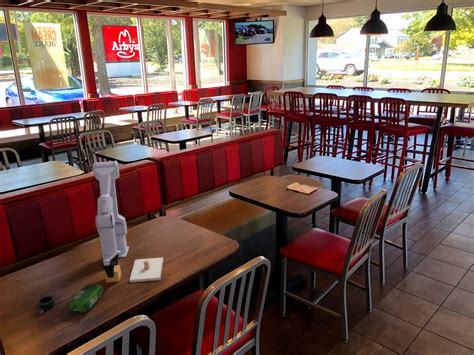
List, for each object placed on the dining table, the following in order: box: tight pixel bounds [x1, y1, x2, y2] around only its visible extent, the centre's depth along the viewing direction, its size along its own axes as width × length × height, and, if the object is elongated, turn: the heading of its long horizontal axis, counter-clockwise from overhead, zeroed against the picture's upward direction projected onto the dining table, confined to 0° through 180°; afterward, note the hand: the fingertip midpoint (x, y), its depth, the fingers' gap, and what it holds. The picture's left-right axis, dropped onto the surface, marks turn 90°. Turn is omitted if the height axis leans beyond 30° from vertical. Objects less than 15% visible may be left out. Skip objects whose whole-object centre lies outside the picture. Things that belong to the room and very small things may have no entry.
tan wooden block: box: [104, 264, 122, 283], centre depth 155 cm, size 5×5×4 cm
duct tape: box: [35, 293, 57, 315], centre depth 139 cm, size 8×10×3 cm
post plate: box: [129, 257, 164, 283], centre depth 160 cm, size 16×12×4 cm
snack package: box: [68, 283, 104, 314], centre depth 139 cm, size 7×16×5 cm, turn 169°
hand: (112, 272), depth 155 cm, fingers open, 7 cm apart
